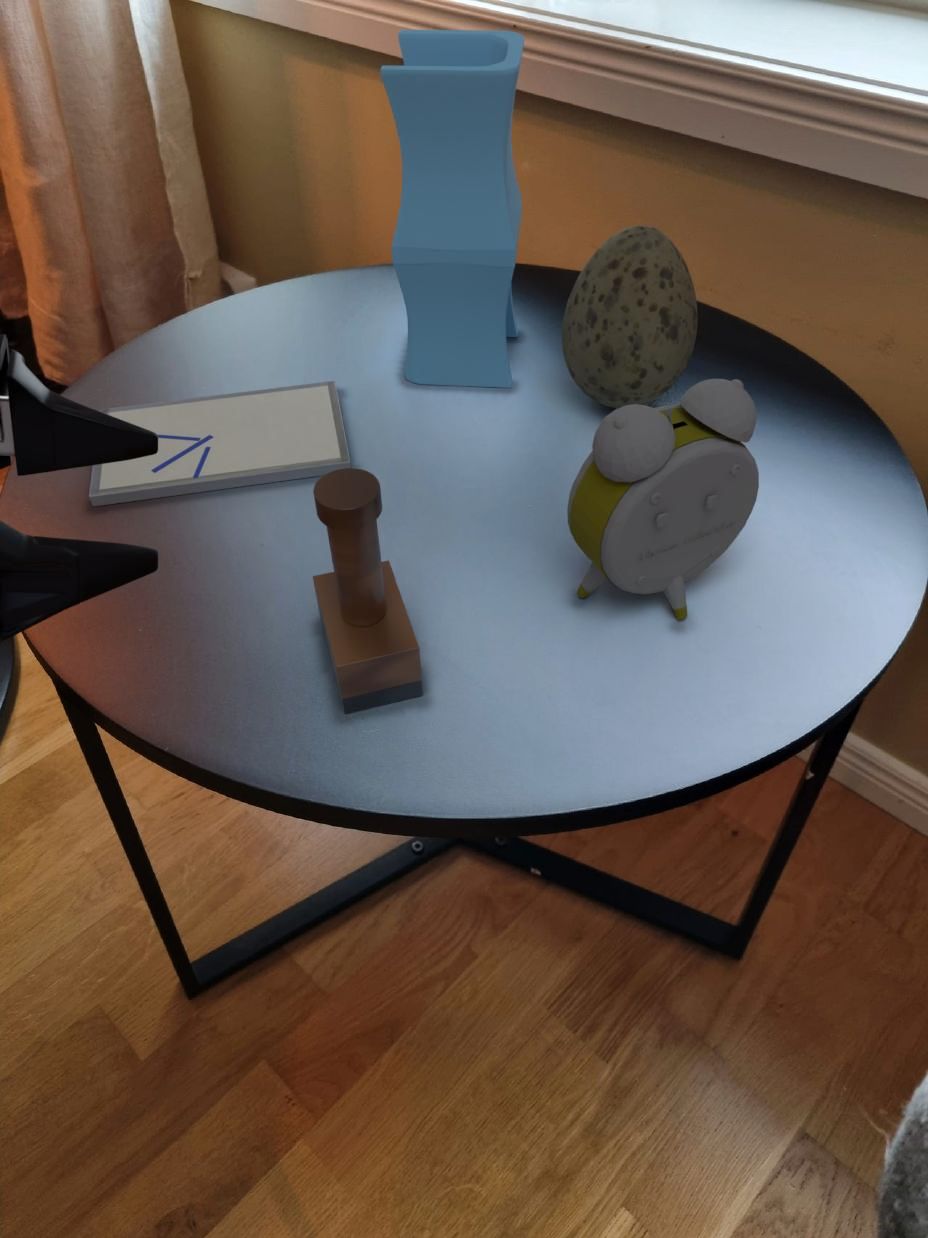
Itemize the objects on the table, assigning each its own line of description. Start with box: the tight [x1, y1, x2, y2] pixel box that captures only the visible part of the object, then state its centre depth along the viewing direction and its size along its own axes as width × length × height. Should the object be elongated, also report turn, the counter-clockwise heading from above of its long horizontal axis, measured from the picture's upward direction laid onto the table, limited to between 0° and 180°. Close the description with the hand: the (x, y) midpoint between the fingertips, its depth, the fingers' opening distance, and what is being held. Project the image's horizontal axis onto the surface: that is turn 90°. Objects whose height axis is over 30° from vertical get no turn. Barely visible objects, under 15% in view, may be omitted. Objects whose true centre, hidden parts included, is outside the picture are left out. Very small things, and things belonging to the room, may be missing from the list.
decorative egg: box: [561, 224, 698, 410], centre depth 74 cm, size 11×11×15 cm
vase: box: [379, 29, 525, 389], centre depth 76 cm, size 10×10×25 cm
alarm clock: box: [566, 378, 760, 620], centre depth 58 cm, size 12×7×15 cm, turn 117°
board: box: [88, 380, 352, 507], centre depth 76 cm, size 20×12×1 cm, turn 101°
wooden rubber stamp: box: [312, 467, 424, 715], centre depth 54 cm, size 5×8×14 cm, turn 16°
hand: (158, 497), depth 45 cm, fingers open, 9 cm apart
